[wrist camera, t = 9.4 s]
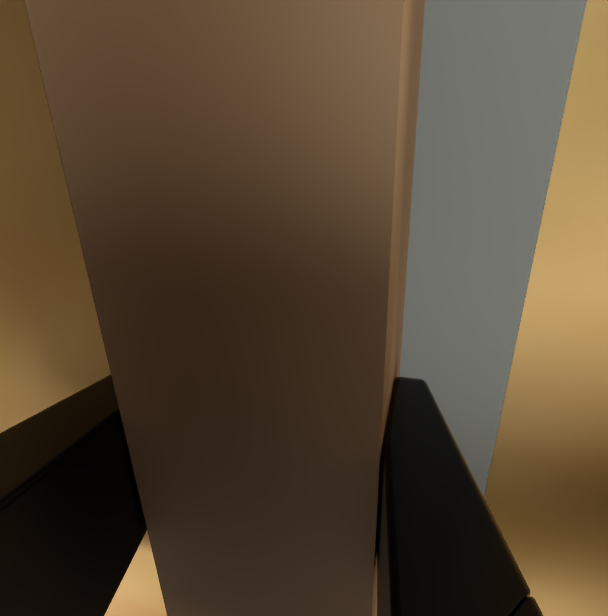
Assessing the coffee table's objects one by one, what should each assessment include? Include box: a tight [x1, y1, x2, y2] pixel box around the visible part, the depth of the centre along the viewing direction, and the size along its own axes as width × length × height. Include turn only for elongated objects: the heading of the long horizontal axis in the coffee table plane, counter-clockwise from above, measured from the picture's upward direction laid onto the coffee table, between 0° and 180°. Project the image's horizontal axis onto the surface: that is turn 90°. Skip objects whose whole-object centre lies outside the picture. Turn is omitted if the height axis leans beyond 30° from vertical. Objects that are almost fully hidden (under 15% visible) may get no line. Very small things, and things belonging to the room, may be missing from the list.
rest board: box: [400, 0, 587, 497], centre depth 12 cm, size 7×22×2 cm, turn 2°
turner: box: [24, 0, 425, 616], centre depth 9 cm, size 5×18×3 cm, turn 3°
